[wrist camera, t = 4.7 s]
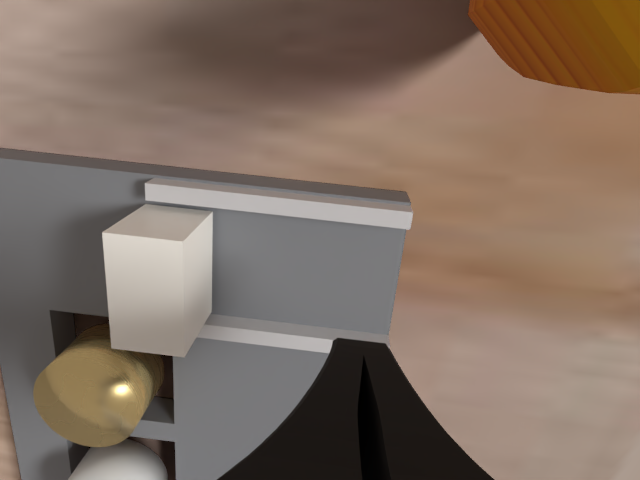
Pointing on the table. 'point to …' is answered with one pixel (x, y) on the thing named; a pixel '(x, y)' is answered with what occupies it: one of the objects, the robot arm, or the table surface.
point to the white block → (158, 278)
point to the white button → (120, 463)
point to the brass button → (97, 389)
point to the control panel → (227, 294)
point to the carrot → (566, 40)
